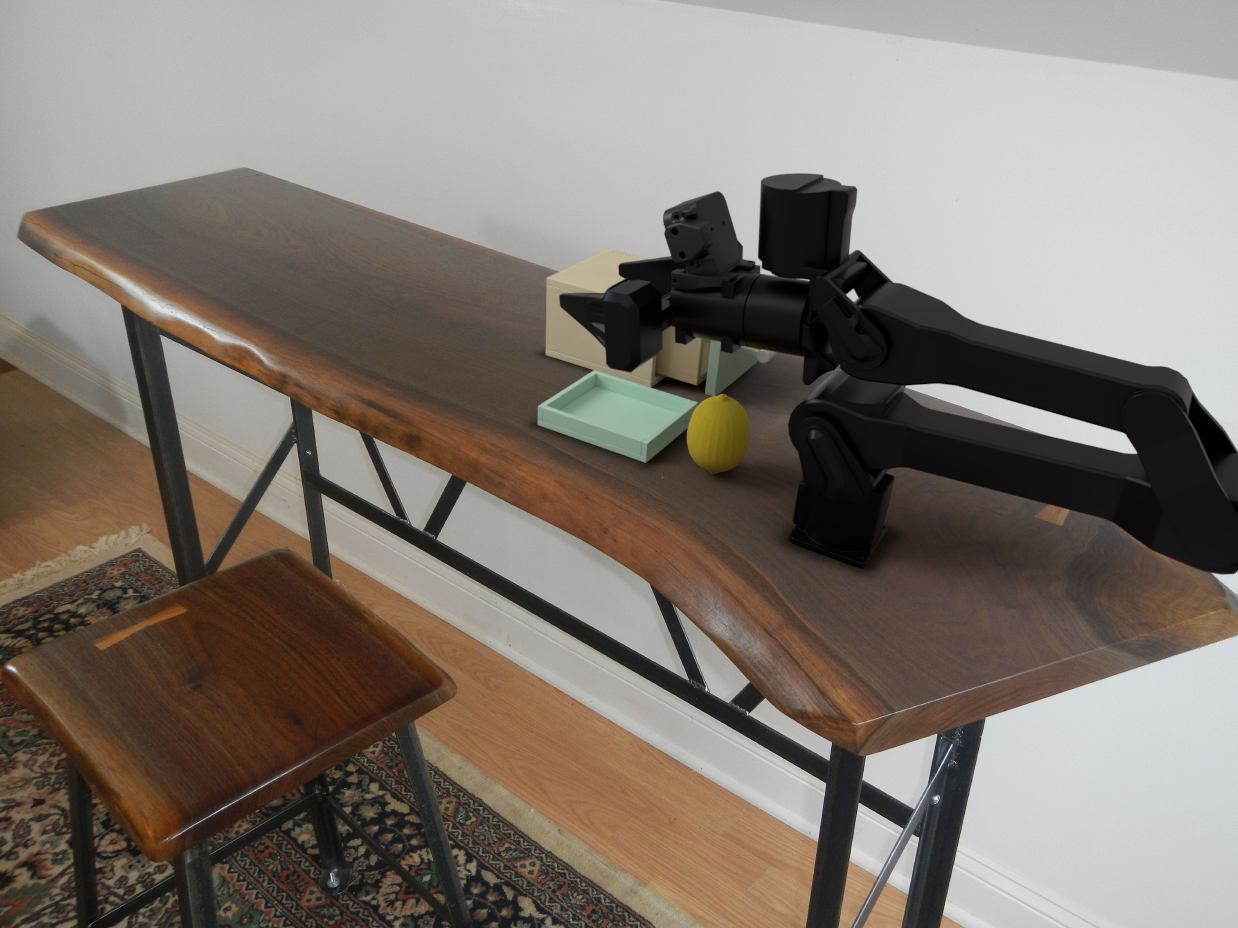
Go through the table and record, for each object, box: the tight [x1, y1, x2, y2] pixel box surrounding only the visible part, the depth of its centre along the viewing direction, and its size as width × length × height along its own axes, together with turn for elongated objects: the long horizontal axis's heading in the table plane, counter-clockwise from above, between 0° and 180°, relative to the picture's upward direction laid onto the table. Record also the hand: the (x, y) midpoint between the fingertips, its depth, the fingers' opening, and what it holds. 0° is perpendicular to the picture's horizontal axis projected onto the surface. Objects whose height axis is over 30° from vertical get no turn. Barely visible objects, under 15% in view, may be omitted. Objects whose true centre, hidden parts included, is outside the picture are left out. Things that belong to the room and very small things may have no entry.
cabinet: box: [545, 248, 667, 388], centre depth 106 cm, size 14×13×9 cm
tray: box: [537, 370, 699, 464], centre depth 94 cm, size 12×10×2 cm
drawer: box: [655, 326, 780, 397], centre depth 102 cm, size 17×11×7 cm
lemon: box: [686, 393, 751, 475], centre depth 85 cm, size 6×6×8 cm
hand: (591, 284), depth 82 cm, fingers open, 9 cm apart
